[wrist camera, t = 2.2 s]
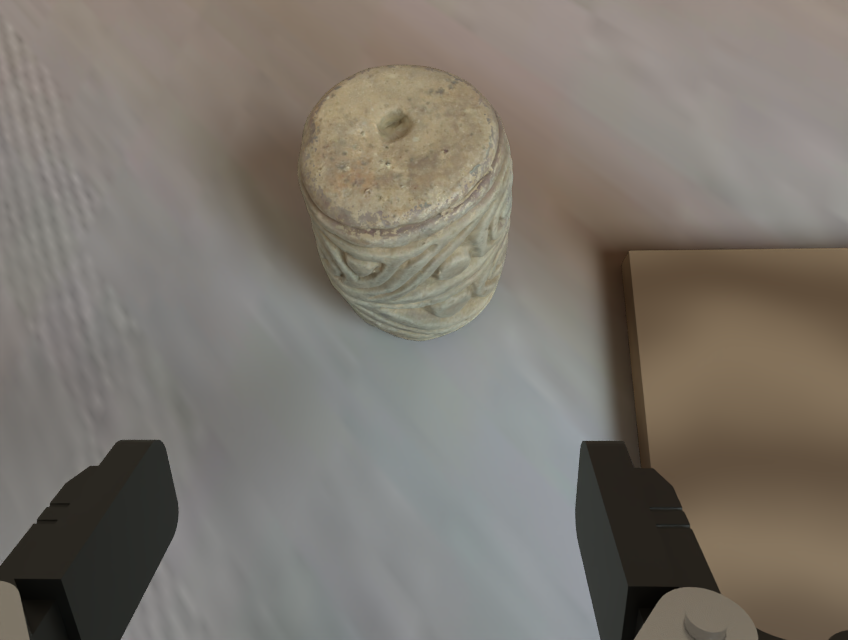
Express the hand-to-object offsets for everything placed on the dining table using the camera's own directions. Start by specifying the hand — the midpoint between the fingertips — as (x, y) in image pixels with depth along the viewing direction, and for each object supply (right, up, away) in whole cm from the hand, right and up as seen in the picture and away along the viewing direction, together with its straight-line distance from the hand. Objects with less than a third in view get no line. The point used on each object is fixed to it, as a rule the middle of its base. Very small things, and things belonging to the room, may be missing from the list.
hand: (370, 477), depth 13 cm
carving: (+1, +4, +18) cm, 19 cm away
